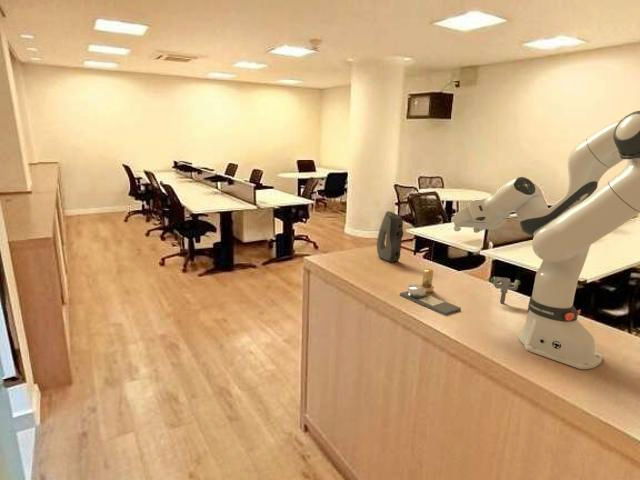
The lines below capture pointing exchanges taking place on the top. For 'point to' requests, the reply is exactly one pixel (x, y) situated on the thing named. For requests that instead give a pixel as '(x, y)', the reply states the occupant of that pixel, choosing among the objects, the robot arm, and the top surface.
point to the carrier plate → (428, 300)
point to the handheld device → (390, 237)
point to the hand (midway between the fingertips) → (465, 230)
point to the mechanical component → (504, 286)
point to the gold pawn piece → (428, 280)
